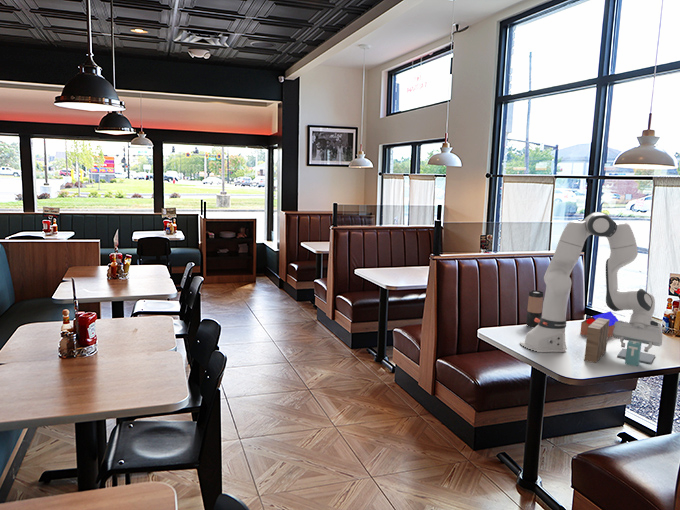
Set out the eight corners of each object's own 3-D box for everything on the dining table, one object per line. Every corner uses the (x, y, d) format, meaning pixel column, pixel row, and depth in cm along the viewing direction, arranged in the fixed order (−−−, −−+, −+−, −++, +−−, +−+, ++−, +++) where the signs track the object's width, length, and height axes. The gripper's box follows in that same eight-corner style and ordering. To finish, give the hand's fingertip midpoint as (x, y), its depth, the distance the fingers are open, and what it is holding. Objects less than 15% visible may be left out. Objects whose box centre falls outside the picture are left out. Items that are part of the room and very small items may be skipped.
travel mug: (541, 328, 291) (544, 293, 288) (527, 327, 292) (530, 292, 289) (539, 324, 298) (542, 290, 295) (525, 323, 300) (528, 289, 297)
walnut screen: (595, 362, 238) (599, 329, 236) (584, 360, 241) (587, 327, 239) (605, 351, 255) (609, 319, 253) (594, 348, 258) (598, 317, 256)
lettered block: (637, 366, 235) (639, 344, 234) (624, 363, 238) (627, 342, 237) (639, 363, 240) (641, 342, 238) (626, 360, 243) (629, 339, 241)
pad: (650, 364, 239) (651, 362, 239) (617, 357, 247) (617, 355, 247) (655, 356, 250) (655, 354, 250) (622, 349, 258) (622, 348, 258)
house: (619, 334, 286) (621, 313, 284) (601, 340, 274) (603, 318, 272) (597, 328, 295) (599, 308, 293) (579, 334, 283) (581, 313, 281)
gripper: (615, 316, 249) (608, 340, 243) (664, 324, 237) (659, 350, 231) (615, 323, 253) (609, 347, 247) (664, 331, 241) (659, 357, 235)
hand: (634, 349), depth 239 cm, fingers open, 8 cm apart
